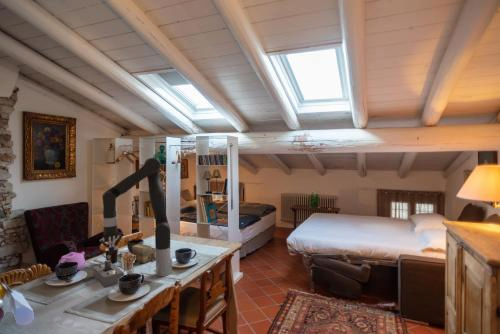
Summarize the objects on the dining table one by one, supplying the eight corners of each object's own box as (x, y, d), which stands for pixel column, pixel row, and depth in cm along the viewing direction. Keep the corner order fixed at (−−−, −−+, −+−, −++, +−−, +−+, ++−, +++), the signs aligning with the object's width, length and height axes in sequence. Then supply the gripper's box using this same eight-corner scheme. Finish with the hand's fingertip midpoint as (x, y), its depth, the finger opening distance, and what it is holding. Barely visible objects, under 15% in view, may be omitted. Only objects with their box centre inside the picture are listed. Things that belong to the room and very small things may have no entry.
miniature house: (143, 266, 212) (143, 249, 211) (129, 262, 218) (129, 246, 218) (159, 259, 225) (159, 243, 224) (146, 256, 231) (145, 241, 231)
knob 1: (106, 272, 198) (105, 262, 197) (108, 273, 195) (107, 264, 195) (100, 273, 195) (100, 263, 195) (102, 275, 193) (101, 265, 192)
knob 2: (114, 279, 187) (114, 269, 186) (116, 281, 184) (116, 270, 184) (108, 280, 184) (107, 270, 184) (110, 282, 182) (109, 272, 181)
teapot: (68, 278, 191) (67, 258, 190) (52, 276, 194) (51, 256, 194) (92, 266, 210) (91, 248, 210) (77, 264, 214) (76, 247, 213)
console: (111, 271, 202) (111, 262, 201) (123, 281, 185) (123, 272, 185) (93, 276, 194) (93, 266, 194) (104, 287, 178) (104, 277, 178)
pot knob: (109, 269, 192) (109, 259, 192) (111, 270, 189) (111, 260, 189) (103, 270, 190) (103, 260, 189) (105, 272, 187) (105, 262, 187)
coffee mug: (121, 261, 219) (120, 248, 219) (110, 265, 212) (109, 251, 211) (111, 258, 225) (110, 245, 225) (100, 262, 218) (99, 248, 217)
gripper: (119, 221, 189) (120, 249, 190) (96, 225, 181) (97, 254, 182) (123, 223, 184) (125, 252, 185) (100, 227, 175) (101, 257, 176)
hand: (111, 253), depth 183 cm, fingers closed
